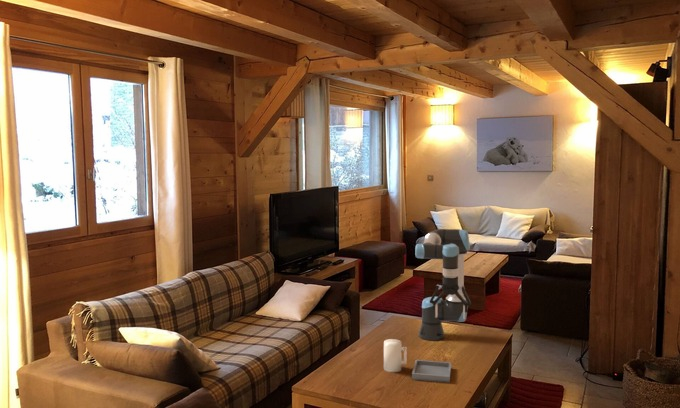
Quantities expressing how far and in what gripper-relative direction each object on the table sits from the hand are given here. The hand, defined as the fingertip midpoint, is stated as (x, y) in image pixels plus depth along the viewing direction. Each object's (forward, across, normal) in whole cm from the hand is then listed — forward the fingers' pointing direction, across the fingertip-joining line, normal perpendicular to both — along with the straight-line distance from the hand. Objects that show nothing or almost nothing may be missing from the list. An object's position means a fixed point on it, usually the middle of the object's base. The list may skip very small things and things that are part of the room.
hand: (450, 317), depth 282 cm
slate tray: (+27, -8, -7) cm, 29 cm away
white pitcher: (+27, -27, -6) cm, 39 cm away
